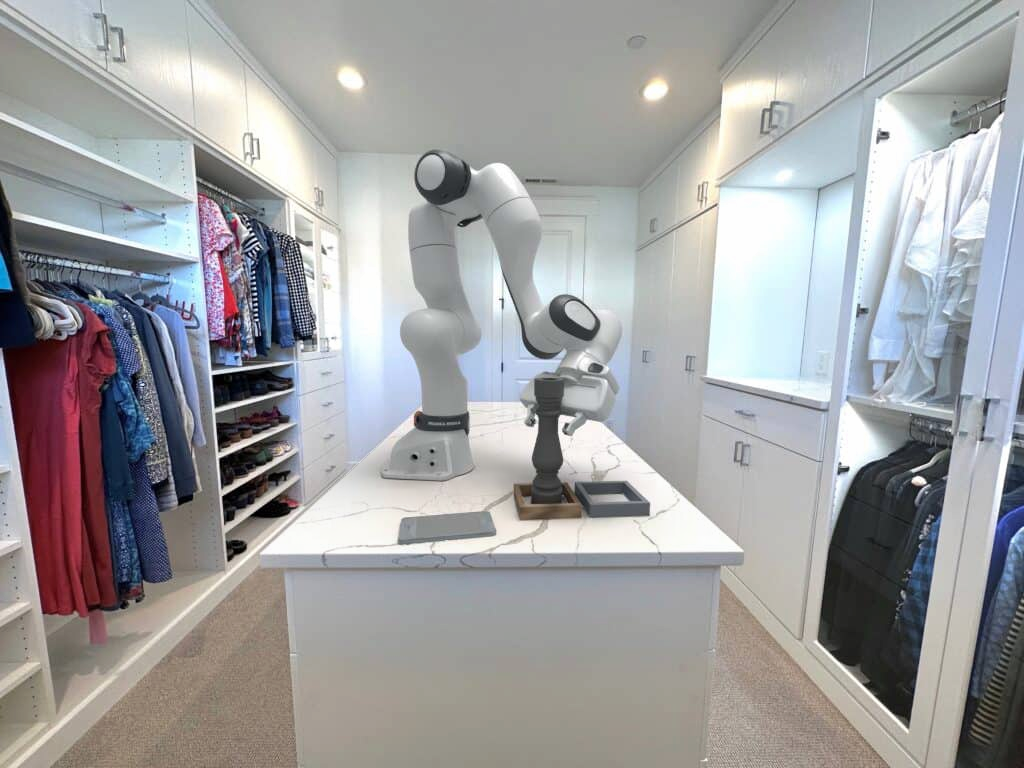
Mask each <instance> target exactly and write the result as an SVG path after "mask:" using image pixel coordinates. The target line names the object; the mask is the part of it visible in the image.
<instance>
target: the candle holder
mask: <svg viewBox="0 0 1024 768" xmlns="http://www.w3.org/2000/svg"><path fill="white" fill-rule="evenodd" d="M534 396H535V397H536V398H535V399H536V401H537V404H538V405H539V407H538V408H537V409H536V410H535V416H537V419H538V420H537V424H538V425H537V436H536V438H535V443H534V447H533V450H532V455H531V462H532V465H533V468H534V469H535V473H536V475H535V476H534V478H533V479H532V482H531V483H533V486H532V487H531V496H530V504H559V503H563V498H564V496H563V490H562V488H561V487H560V486H561V484H562V483H561V482H562V480H561V479H560V477H559V476H558V474H559V473H560V472H559V470H560V469H561V468H562V466H563V464H564V455H563V451H562V450H563V449H562V445H561V441H560V436H559V418H560V416H563V415H562V410H561V409H559V405H560V403H561V401H562V397H563V396H564V379H561V378H535V379H534Z"/></svg>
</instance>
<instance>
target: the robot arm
mask: <svg viewBox="0 0 1024 768" xmlns="http://www.w3.org/2000/svg"><path fill="white" fill-rule="evenodd" d="M413 176H414V177H413V178H414V183H415V187H416V189H417V191H418V193H419V194H420V195H421V196H422V198H424V199H425V200H426V201H424V202H420V203H418V204H415V205H414V206H413V207H412V208H411V209H410V212H409V213H408V226H407V227H408V228H407V233H408V235H407V236H408V240H407V241H408V250H409V257H410V264H411V271H412V278H413V284H414V285H413V286H414V287H415V289H416V291H417V292H418V293H419V294H420V296H421V297H422V298H423V300H424V302H425V304H426V307H427V308H423V309H422V308H421V309H417V310H413V311H411V312H409V313H407V315H406V316H405V317H404V318H403V320H401V324H400V327H399V328H400V329H399V336H400V337H399V338H400V340H401V343H402V345H403V347H404V348H405V349H406V350H407V351H408V352H409V353H410V355H412V357H413V360H414V362H415V364H416V368H417V371H418V374H419V379H420V386H421V387H420V388H421V404H422V405H421V409H422V410H417V411H415V413H414V414H413V428H412V429H410V431H408V432H407V433H406V434H405V435H403V436H402V437H401V438H399V439H398V440H397V441H396V442H395V443H394V445H393V446H392V450H391V452H390V453H391V454H390V458H389V459H387V460H386V461H385V462H384V463H383V464H382V466H381V469H380V474H381V476H382V477H383V479H384V478H385V479H396V480H397V479H401V480H403V479H404V480H421V481H422V480H424V481H439V482H440V481H441V482H442V481H448V480H449V479H452V478H453V477H457V476H460V475H464V474H466V473H469V472H471V471H472V470H473V469H474V468H475V464H474V461H473V456H472V452H471V447H470V438H469V437H470V436H469V434H470V432H471V430H470V429H471V426H470V425H471V420H470V419H471V416H470V411H469V410H468V380H467V378H466V377H465V376H464V374H463V372H462V371H461V368H460V365H459V361H458V355H463V354H467V353H468V352H471V351H472V350H474V349H476V347H477V346H478V345H479V344H480V342H481V339H482V328H481V325H480V323H479V321H478V320H477V319H476V317H475V316H474V314H473V312H472V309H471V307H470V304H469V301H468V298H467V296H466V293H465V291H464V287H463V283H462V279H461V273H460V264H459V258H458V251H457V250H458V249H457V243H456V242H457V241H456V236H455V235H456V227H459V228H465V227H467V226H470V224H472V223H475V222H477V221H480V220H483V221H484V224H485V226H486V228H487V229H488V232H489V234H490V236H491V239H492V241H493V244H494V248H495V250H496V253H497V256H498V261H499V264H500V268H501V273H502V277H503V279H504V282H505V285H506V287H507V290H508V293H509V296H510V298H511V301H512V303H513V307H514V309H515V312H516V314H517V316H518V320H519V323H520V330H521V332H520V333H521V340H522V343H523V346H524V347H525V349H526V351H528V353H530V355H532V356H533V357H535V358H537V359H540V360H545V361H546V360H551V359H555V358H556V357H557V356H559V354H560V353H561V352H562V351H564V349H565V352H566V353H565V354H564V356H563V358H562V359H561V361H560V363H559V364H558V366H557V367H556V369H555V372H549V371H542V373H539V374H536V375H535V376H533V377H532V378H531V380H530V381H528V382H527V384H526V385H525V386H524V388H523V389H522V391H521V392H520V393H519V400H520V402H521V404H522V405H523V406H524V408H525V409H527V411H526V413H527V414H526V415H527V416H526V417H525V418H524V421H523V422H524V425H525V426H526V427H528V428H534V427H535V424H537V423H538V420H536V417H535V416H536V414H535V410H536V409H537V408H538V407H539V405H538V404H537V401H536V399H535V398H536V397H535V396H534V379H535V378H561V379H564V396H563V397H562V401H561V403H560V405H559V409H561V410H562V415H561V416H565V417H571V418H572V417H573V419H572V420H571V421H570V422H565V423H564V426H563V427H562V428H561V432H562V433H563V435H564V436H568V437H573V435H574V433H575V431H576V430H577V429H579V428H580V427H582V426H584V425H585V424H586V422H587V421H594V422H597V423H598V422H599V423H603V422H604V421H606V420H607V419H609V418H610V417H609V416H610V415H611V412H612V411H613V409H614V406H615V403H616V395H617V394H618V393H619V391H620V385H619V384H618V381H617V379H616V377H615V375H614V373H613V372H612V370H611V369H610V367H609V366H607V364H608V363H610V361H611V360H612V359H613V357H614V355H615V353H616V351H617V349H618V346H619V344H620V342H621V339H622V337H623V336H622V335H623V325H622V322H621V320H620V318H619V317H618V316H617V315H616V314H615V313H614V312H612V311H610V310H608V309H605V308H601V309H600V308H599V309H597V308H594V307H591V306H590V305H587V304H586V303H585V302H584V301H583V300H581V299H580V298H579V297H578V296H575V295H573V294H569V293H568V294H567V293H564V294H559V295H557V296H555V297H554V298H552V300H551V301H549V302H548V303H547V304H546V305H545V306H544V305H543V302H542V300H541V298H540V295H539V292H538V290H537V287H536V284H535V282H534V281H535V280H534V273H533V271H534V264H535V259H536V256H537V252H538V249H539V246H540V244H541V240H542V235H543V227H542V221H541V218H540V215H539V212H538V210H537V208H536V206H535V205H534V202H533V200H532V199H531V197H530V194H529V193H528V191H527V190H526V188H525V186H524V185H523V184H522V182H521V179H519V178H518V176H517V175H516V174H515V172H514V171H513V170H512V169H511V167H510V166H508V165H506V164H504V163H501V162H493V163H490V164H488V165H486V166H484V167H483V168H481V169H479V170H475V169H474V168H473V167H472V166H471V165H470V164H469V163H468V162H467V161H466V160H464V159H462V158H460V157H459V156H457V155H455V154H453V153H451V152H448V151H446V150H441V149H432V150H428V151H426V152H425V153H424V154H423V155H421V156H420V158H419V159H418V160H417V163H416V165H415V167H414V173H413Z"/></svg>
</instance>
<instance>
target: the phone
mask: <svg viewBox="0 0 1024 768" xmlns="http://www.w3.org/2000/svg"><path fill="white" fill-rule="evenodd" d="M399 524H400V525H399V532H398V538H397V539H398V540H397V543H398V545H400V546H402V545H403V544H406V545H411V544H410V543H417V544H418V543H419V544H425V543H426V542H429V543H434V541H438V542H445V540H448V541H455V540H456V541H457V540H458V539H459V540H468V539H478V538H487V537H488V538H490V537H494V536H496V535H497V528H496V526H495V523H494V519H493V517H492V514H491V511H488V510H479V511H469V512H457V513H444V514H443V513H442V514H432V515H429V514H428V515H418V516H406V517H402V518H401V520H400V523H399ZM459 540H458V541H459ZM426 544H427V543H426ZM403 546H404V545H403Z"/></svg>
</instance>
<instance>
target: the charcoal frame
mask: <svg viewBox="0 0 1024 768" xmlns="http://www.w3.org/2000/svg"><path fill="white" fill-rule="evenodd" d="M573 492H574V493H575V495H576V497H577V498H578V500H579V501H580V503H581V504H582V509H584V511H585V513H586V514H587V516H588V517H589V518H594V519H596V518H623V517H624V518H625V517H650V516H651V515H650V514H651V502H650V501H649V500H648V499H647V498H646V497H645V496H643V494H641V492H640V491H638V490H637V488H635V487H634V486H633V485H632V484H631V482H629V481H628V480H606V481H605V480H602V481H601V480H598V481H574V490H573ZM593 495H594V496H595V495H596V496H597V495H599V496H600V495H624V496H625V497H626V498H627V499H628V500H626V501H624V500H623V501H599V502H598V501H596V502H595V501H594V500H593V499H592V498H591V496H593Z"/></svg>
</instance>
